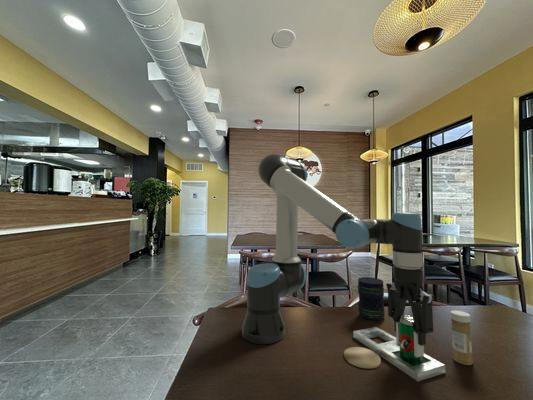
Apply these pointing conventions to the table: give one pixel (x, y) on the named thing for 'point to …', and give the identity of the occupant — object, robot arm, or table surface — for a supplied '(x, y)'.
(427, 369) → the white flat rectangular frame
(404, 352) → the soda can
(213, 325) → the table surface
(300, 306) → the table surface
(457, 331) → the sprinkles bottle
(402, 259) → the robot arm
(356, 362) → the coaster
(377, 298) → the dark blue canister
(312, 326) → the table surface
